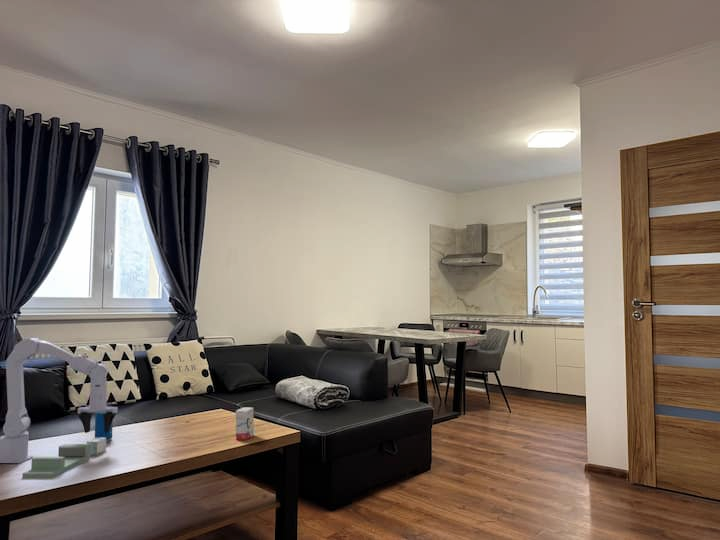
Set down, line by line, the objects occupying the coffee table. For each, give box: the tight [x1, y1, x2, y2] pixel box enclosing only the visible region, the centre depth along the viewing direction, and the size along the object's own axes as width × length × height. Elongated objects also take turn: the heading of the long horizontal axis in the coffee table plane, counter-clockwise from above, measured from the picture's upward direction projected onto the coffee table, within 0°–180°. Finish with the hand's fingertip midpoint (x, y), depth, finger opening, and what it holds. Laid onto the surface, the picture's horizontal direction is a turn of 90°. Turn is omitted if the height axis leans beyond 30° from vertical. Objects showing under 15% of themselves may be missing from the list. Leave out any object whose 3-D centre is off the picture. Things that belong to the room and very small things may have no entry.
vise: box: [21, 455, 90, 479], centre depth 168 cm, size 10×20×5 cm, turn 178°
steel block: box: [86, 437, 107, 456], centre depth 186 cm, size 4×6×5 cm, turn 178°
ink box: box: [235, 406, 255, 441], centre depth 206 cm, size 9×5×12 cm, turn 171°
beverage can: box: [94, 413, 114, 443], centre depth 203 cm, size 6×6×12 cm
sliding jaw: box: [57, 443, 91, 457], centre depth 177 cm, size 10×4×4 cm, turn 88°
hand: (97, 432), depth 186 cm, fingers open, 7 cm apart
